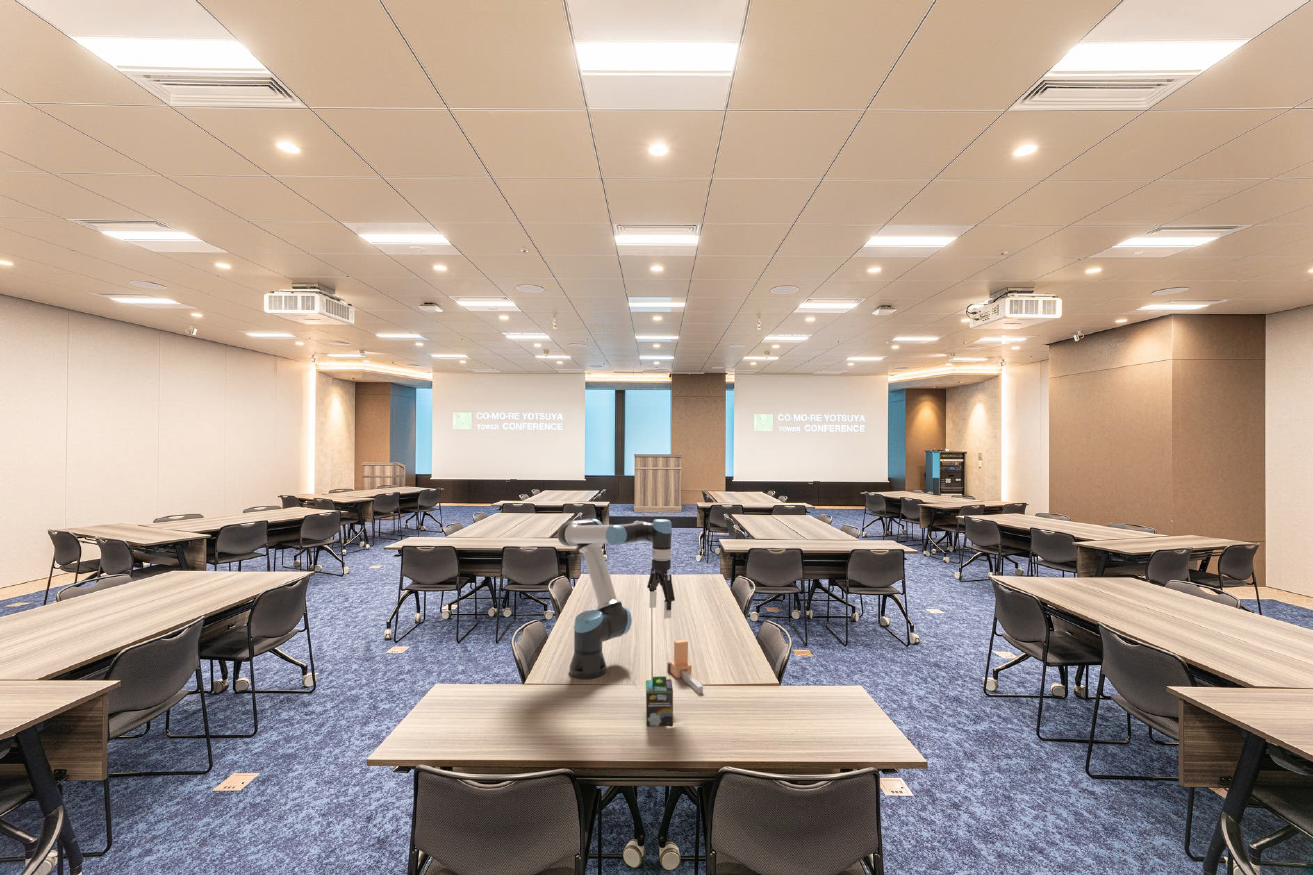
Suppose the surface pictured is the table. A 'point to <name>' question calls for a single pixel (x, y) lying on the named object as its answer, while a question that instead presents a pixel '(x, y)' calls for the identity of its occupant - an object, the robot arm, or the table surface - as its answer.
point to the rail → (689, 680)
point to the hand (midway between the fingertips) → (659, 612)
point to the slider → (680, 658)
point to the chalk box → (659, 702)
